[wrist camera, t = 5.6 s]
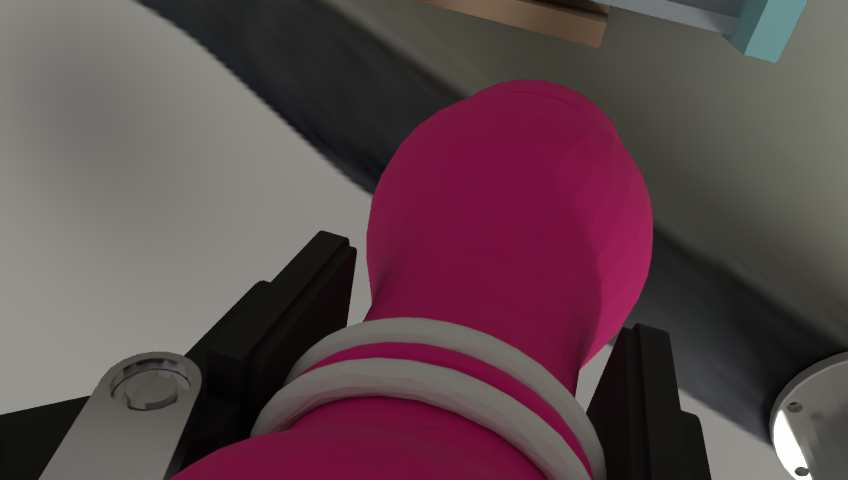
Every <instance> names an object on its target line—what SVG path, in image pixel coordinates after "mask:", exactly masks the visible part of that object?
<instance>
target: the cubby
mask: <svg viewBox="0 0 848 480" xmlns="http://www.w3.org/2000/svg"><path fill="white" fill-rule="evenodd" d="M415 1H419V2H423V3H427V4H431V5H434V6H438V7H442V8H446V9H450V10H454V11H457V12H461V13H465V14H469V15H473V16H476V17H480V18H484V19H488V20H492V21H496V22H499V23H503V24H507V25H511V26H515V27H519V28H522V29H526V30H530V31H534V32H538V33H541V34H545V35H549V36H553V37H557V38H561V39H564V40H568V41H572V42H576V43H580V44H583V45H587V46H591V47H595V48H599V47H600V44H601V41H602V38H603V35H604V32H605V29H606V26H607V21H608V12H609V9H610V6H611V5H607V4H603V3H599V2H595V1H591V0H415Z"/></svg>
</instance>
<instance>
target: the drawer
mask: <svg viewBox="0 0 848 480" xmlns="http://www.w3.org/2000/svg"><path fill="white" fill-rule="evenodd" d="M591 1H595V2H599V3H603V4H607V5H611V6H615V7H618V8H622V9H626V10H630V11H634V12H638V13H642V14H646V15H650V16H654V17H658V18H662V19H666V20H670V21H674V22H678V23H682V24H686V25H690V26H694V27H698V28H702V29H706V30H710V31H714V32H718V33H722V36H723V37H724V38H725V39H727V40H728V41H729V42H730V43H731V44H732V45H733V46H734V47H736V48H737V49H738V50H739V51H740V52H741V53H742V54H743V55H747V56H751V57H755V58H758V59H762V60H766V61H770V62H774V63H777V62H778V60H779V58H780V56H781V54H782V52H783V50H784V48H785V46H786V44H787V42H788V40H789V38H790V36H791V33H792V31H793V29H794V27H795V25H796V23H797V21H798V19H799V17H800V15H801V13H802V11H803V9H804V7H805V5H806V2H807V0H591Z"/></svg>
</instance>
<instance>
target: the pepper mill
mask: <svg viewBox="0 0 848 480" xmlns="http://www.w3.org/2000/svg"><path fill="white" fill-rule="evenodd" d="M652 242H653V213H652V208H651V202H650V197H649V193H648V190H647V188H646V185H645V182H644V180H643V177H642V175H641V172H640V171H639V169H638V167H637V166H636V164H635V162H634V161H633V159H632V157H631V156H630V154H629V152H628V151H627V150H626V149H625V147H624V146H623V144H622V141H621V139H620V137H619V135H618V132H617V131H616V129H615V127H614V126H613V124H612V123H611V121H610V120H609V119H608V117H607V116H606V115H605V114H604V113H603V112H602V111H601V110H600V109H599V108H598V107H597V106H596V105H595V104H594V103H593V102H591V101H590V100H589V99H587V98H586V97H584V96H583V95H582V94H580V93H577V92H575V91H573V90H571V89H568V88H566V87H564V86H562V85H558V84H554V83H551V82H547V81H543V80H515V81H508V82H501V83H499V84H496V85H493V86H491V87H488V88H485V89H483V90H481V91H480V92H478V93H476V94H474V95H473V96H471V97H470V98H468V99H466V100H462V101H459V102H457V103H455V104H453V105H451V106H448V107H446V108H444V109H442V110H440V111H439V112H437V113H436V114H434V115H433V116H431V117H430V118H428V119H427V120H425V121H424V122H423V123H421V124H420V125H418V126H417V127H416V128H415V130H414V131H413V132H412V133H411V134H410V135H409V136H408V137H407V138H406V139H405V140H404V141H403V142H402V143H401V145H400V147H399V148H398V150H397V151H396V153H395V154H394V156H393V158H392V159H391V161H390V162H389V164H388V166H387V167H386V169H385V171H384V172H383V174H382V176H381V178H380V180H379V183H378V185H377V188H376V191H375V193H374V196H373V199H372V204H371V210H370V216H369V223H368V230H367V266H368V273H369V281H370V288H371V296H372V305H371V307H370V309H369V311H368V313H367V315H366V317H365V319H364V321H363V322H362V323H359V324H356V325H353V326H349V327H346V328H343V329H341V330H339V331H337V332H335V333H332V334H330V335H328V336H326V337H325V338H323V339H322V340H321V341H319V342H318V343H317V344H315V345H314V346H313V347H311V348H310V349H309V350H308V351H307V352H306V353H305V354H304V355H303V356H302V357H301V358H300V359H299V360H298V361H297V362H296V363H295V365H294V366H293V368H292V369H291V371H290V372H289V374H288V376H287V378H286V380H285V382H284V384H283V386H282V388H281V390H279V391H278V392H277V393H276V394H275V395H274V396H273V397H272V399H271V400H270V401H269V402H268V403H267V404H266V406H265V407H264V408H263V409H262V410H261V412H260V414H259V416H258V418H257V420H256V422H255V425H254V427H253V429H252V431H251V434H250V438H249V439H246V440H243V441H240V442H237V443H235V444H232V445H229V446H226V447H223V448H220V449H218V450H216V451H215V452H213V453H211V454H209V455H207V456H206V457H204V458H202V459H200V460H199V461H197V462H195V463H193V464H191V465H190V466H188V467H187V468H185V469H184V470H182V471H181V472H179V473H178V474H176V475H175V476H173V477H172V478H170V479H169V480H607V472H606V466H605V459H604V453H603V449H602V447H601V444H600V442H599V439H598V437H597V434H596V432H595V430H594V427H593V425H592V424H591V422H590V420H589V418H588V417H587V415H586V413H585V412H584V410H583V408H582V407H581V406H580V404H579V403H578V402H577V401H576V400H575V394H576V388H577V381H578V375H579V370H580V369H581V368H582V367H583V366H584V365H585V364H586V363H587V362H588V361H589V360H590V359H591V358H592V357H593V356H595V355H596V354H597V353H598V352H599V351H600V350H601V349H602V348H603V347H604V346H605V345H606V344H607V343H608V341H609V340H610V339H611V338H612V337H613V336H614V335H615V334H616V333H617V332H618V331H619V329H620V328H621V326H622V324H623V323H624V321H625V319H626V318H627V316H628V315H629V313H630V311H631V310H632V308H633V306H634V305H635V303H636V302H637V300H638V298H639V296H640V293H641V291H642V288H643V286H644V284H645V281H646V279H647V276H648V271H649V267H650V262H651V257H652Z"/></svg>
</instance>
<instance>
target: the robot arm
mask: <svg viewBox="0 0 848 480" xmlns="http://www.w3.org/2000/svg"><path fill="white" fill-rule="evenodd" d="M349 244H350V243H349V239H348V238H346V237H343V236H340V235H336V234H332V233H329V232H326V231H319V232H318V233H317V234H316V236H315V237H313V238H312V240H310V242H309V243H308V244H307V245H306V246H305V247H304V248H303V249H302V250H301V251H300V252H299V253H298V254H297V255H296V256H295V257H294V258H293V259H292V260H291V261H290V263H289V264H288V265H287V266H286V267H285V268H284V269H283V270H282V271H281V272H280V273H279V274H278V275H277V276H276V277H275V278H274V279H273V281H271V282H267V281H264V280H263V281H259V282H258V283H256V284H255V285H254V286H253V287H252V288H251V289H250V290H249V291H248V292H247V293H246V294H245V295H244V296H243V297H242V298H241V299H240V300H239V301H238V302H237V303H236V304H235V305H234V306H233V307H232V308H231V309H230V310H229V311H228V312H227V313H226V314H225V315H224V316H223V317H222V318H221V319H220V320H219V321H218V322H217V323H216V324H215V325H214V326H213V327H212V328H211V329H210V330H209V331H208V332H207V333H206V334H205V335H204V336H203V337H202V338H201V339H200V340H199V341H198V342H197V343H196V344H195V345H194V346H193V347H192V348H191V350H189V352H187V353H186V354H185V355H184V356H182V355H179V354H175V353H171V352H148V353H142V354H137V355H135V356H132V357H129V358H127V359H124V360H122V361H120V362H119V363H117V364H116V365H114V366H113V367H111V368H110V369H109V370H108V372H107V373H106V374H105V375H104V376H103V377H102V379H101V380H100V382H99V383H98V385H97V387H96V388H95V390H94V391H93V393H92V395H90V396H86V397H81V398H77V399H72V400H67V401H63V402H58V403H54V404H49V405H44V406H40V407H35V408H30V409H26V410H21V411H17V412H12V413H7V414H2V415H0V480H169V479H170V478H172V477H173V476H175V475H176V474H178V473H179V472H181V471H182V470H184V469H185V468H187V467H188V466H190V465H191V464H193V463H195V462H197V461H199V460H200V459H202V458H204V457H206V456H207V455H209V454H211V453H213V452H215V451H216V450H218V449H220V448H223V447H226V446H229V445H232V444H235V443H237V442H240V441H243V440H246V439H249V438H250V434H251V431H252V429H253V427H254V425H255V422H256V420H257V418H258V416H259V414H260V412H261V410H262V409H263V408H264V407H265V406H266V404H267V403H268V402H269V401H270V400H271V399H272V397H273V396H274V395H275V394H276V393H277V392H278V391H279V390H281V388H282V386H283V384H284V382H285V380H286V378H287V376H288V374H289V372H290V371H291V369H292V368H293V366H294V365H295V363H296V362H297V361H298V360H299V359H300V358H301V357H302V356H303V355H304V354H305V353H306V352H307V351H308V350H309V349H310V348H311V347H313V346H314V345H315V344H317V343H318V342H319V341H321V340H322V339H323V338H325V337H326V336H328V335H330V334H332V333H335V332H337V331H339V330H341V329H343V328H346V327H347V320H348V313H349V305H350V297H351V291H352V284H353V277H354V270H355V263H356V255H357V249H356V248H354V247H351V246H349ZM586 415H587V417H588V418H589V420H590V422H591V424H592V425H593V427H594V430H595V432H596V434H597V437H598V439H599V442H600V444H601V447H602V449H603V453H604V459H605V466H606V472H607V480H711V474H710V469H709V464H708V459H707V454H706V448H705V443H704V438H703V432H702V427H701V423H700V420H699V418H698V417H697V416H696V415H694V414H691V413H688V412H685V411H682V410H681V407H680V401H679V395H678V388H677V382H676V375H675V369H674V362H673V356H672V349H671V343H670V336H669V333H668V332H666V331H663V330H660V329H656V328H653V327H649V326H646V325H643V324H639V323H636V324H635V325H634V327H633V329H629V328H625V327H623V328H622V329H621V331H620V333H619V335H618V338H617V340H616V343H615V345H614V347H613V350H612V352H611V355H610V357H609V359H608V362H607V364H606V366H605V369H604V371H603V374H602V376H601V378H600V381H599V383H598V386H597V388H596V390H595V393H594V395H593V397H592V400H591V402H590V404H589V407H588V409H587V412H586ZM769 430H770V438H771V441H772V444H773V447H774V450H775V454H776V456H777V457H778V459H779V461H780V462H781V464H782V466H783V467H784V469H785V470H786V471H787V472H788V473H789V474H790V475H791V476H792V477H793V478H794V479H795V480H848V352H844V353H840V354H836V355H834V356H831V357H829V358H826V359H824V360H822V361H819V362H817V363H815V364H813V365H812V366H810V367H808V368H807V369H805V370H804V371H802V372H800V373H799V374H798V375H797V376H796V377H795V378H793V379H792V380H791V381H790V382H789V383H788V384H787V385H786V386H785V387H784V389H783V390H782V391H781V393H780V394H779V395H778V397H777V398H776V401H775V403H774V405H773V408H772V410H771V414H770V421H769Z"/></svg>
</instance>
